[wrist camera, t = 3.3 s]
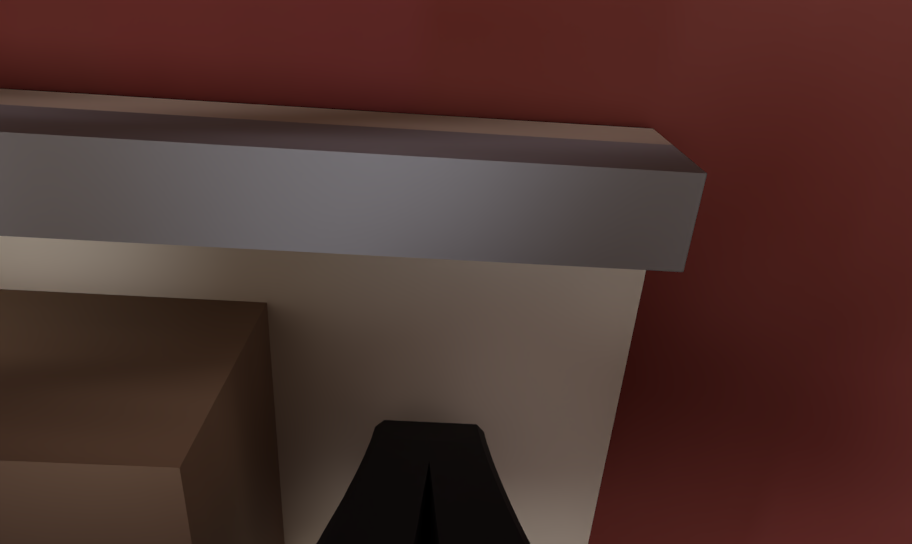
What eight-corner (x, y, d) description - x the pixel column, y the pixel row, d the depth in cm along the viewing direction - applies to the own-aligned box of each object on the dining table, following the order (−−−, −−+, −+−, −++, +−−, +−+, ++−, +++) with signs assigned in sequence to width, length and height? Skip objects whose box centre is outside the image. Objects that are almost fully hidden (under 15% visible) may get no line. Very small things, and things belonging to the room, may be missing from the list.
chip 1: (267, 302, 8) (179, 468, 6) (285, 551, 10) (226, 761, 8) (-93, 284, 8) (-362, 444, 5) (-5, 539, 10) (-170, 752, 7)
